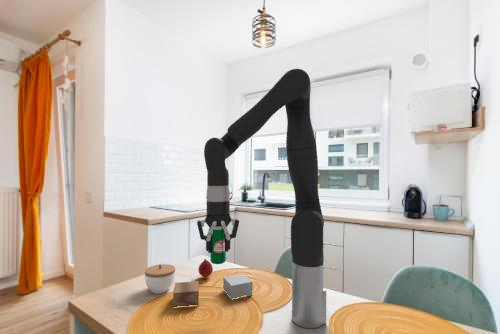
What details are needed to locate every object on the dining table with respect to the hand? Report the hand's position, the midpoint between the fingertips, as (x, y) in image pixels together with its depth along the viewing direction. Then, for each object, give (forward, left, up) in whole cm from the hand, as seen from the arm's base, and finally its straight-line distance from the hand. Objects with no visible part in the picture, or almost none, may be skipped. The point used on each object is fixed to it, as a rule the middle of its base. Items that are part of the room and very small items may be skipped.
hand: (218, 251), depth 86 cm
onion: (+3, -25, -19) cm, 31 cm away
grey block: (-8, -9, -18) cm, 22 cm away
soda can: (0, 0, -4) cm, 4 cm away
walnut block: (+10, -6, -18) cm, 22 cm away
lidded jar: (+20, -17, -19) cm, 32 cm away
